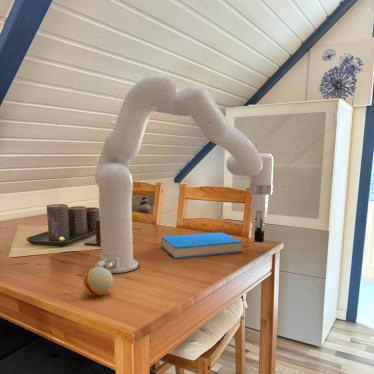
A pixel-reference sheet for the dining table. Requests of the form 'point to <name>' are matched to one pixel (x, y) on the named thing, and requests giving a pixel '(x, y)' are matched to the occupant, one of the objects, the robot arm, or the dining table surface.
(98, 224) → the bookend
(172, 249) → the book
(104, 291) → the ball
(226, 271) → the dining table surface
